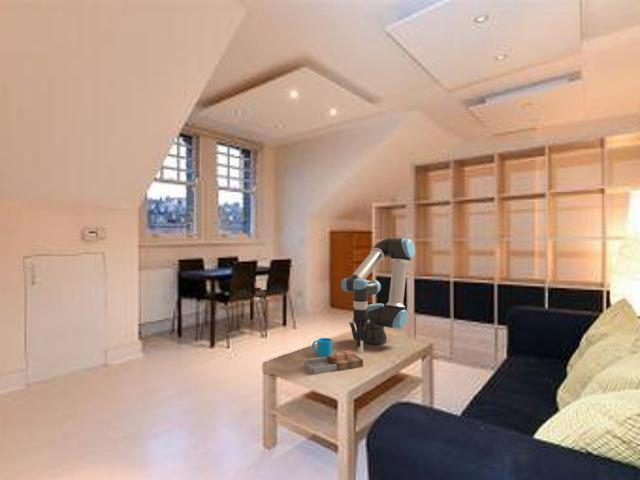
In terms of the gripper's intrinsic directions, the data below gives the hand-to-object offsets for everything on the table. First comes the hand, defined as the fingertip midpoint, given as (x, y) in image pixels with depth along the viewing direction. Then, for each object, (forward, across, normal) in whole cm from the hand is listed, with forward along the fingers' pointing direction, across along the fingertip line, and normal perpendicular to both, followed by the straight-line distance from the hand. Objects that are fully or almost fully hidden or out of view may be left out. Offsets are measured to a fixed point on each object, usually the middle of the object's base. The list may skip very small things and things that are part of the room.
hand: (360, 352), depth 210 cm
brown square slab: (+5, +10, 0) cm, 11 cm away
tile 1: (+1, +13, 0) cm, 13 cm away
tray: (+5, +24, 0) cm, 24 cm away
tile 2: (+1, +7, 0) cm, 7 cm away
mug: (+5, +14, -20) cm, 25 cm away
